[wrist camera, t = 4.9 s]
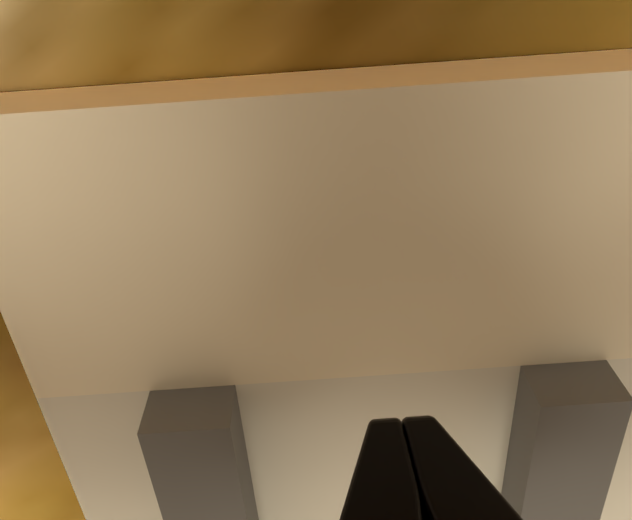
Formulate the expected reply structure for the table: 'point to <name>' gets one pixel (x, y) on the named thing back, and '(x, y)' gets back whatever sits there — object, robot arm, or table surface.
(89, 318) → the rail board
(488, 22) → the table surface
